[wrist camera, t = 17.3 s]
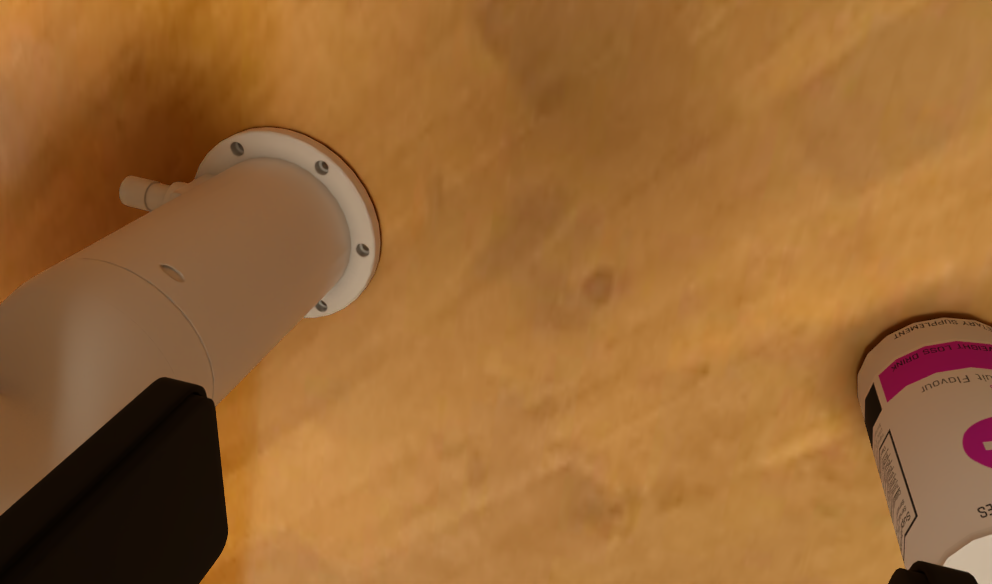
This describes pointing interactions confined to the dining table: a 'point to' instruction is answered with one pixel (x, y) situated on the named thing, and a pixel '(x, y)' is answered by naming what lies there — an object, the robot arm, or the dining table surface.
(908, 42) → the dining table surface
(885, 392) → the supplement can
